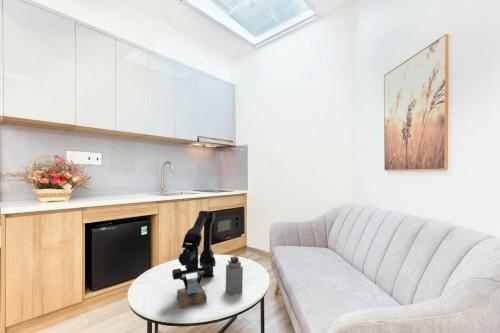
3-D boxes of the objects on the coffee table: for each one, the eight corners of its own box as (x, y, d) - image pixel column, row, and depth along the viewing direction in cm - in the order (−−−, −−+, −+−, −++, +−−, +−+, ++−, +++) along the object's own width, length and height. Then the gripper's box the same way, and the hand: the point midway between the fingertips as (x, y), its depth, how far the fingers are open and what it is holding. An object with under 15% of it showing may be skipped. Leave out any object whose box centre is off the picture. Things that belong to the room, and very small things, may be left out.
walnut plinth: (200, 290, 121) (200, 284, 121) (206, 302, 110) (206, 296, 110) (177, 295, 116) (177, 289, 116) (181, 308, 105) (181, 301, 105)
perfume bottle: (230, 296, 116) (231, 260, 116) (225, 290, 122) (226, 256, 122) (242, 293, 119) (242, 258, 120) (237, 287, 125) (237, 254, 126)
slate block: (195, 287, 116) (195, 277, 116) (197, 292, 112) (198, 281, 112) (185, 289, 114) (186, 279, 114) (187, 294, 109) (187, 283, 110)
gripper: (206, 249, 125) (206, 278, 124) (171, 254, 117) (170, 285, 116) (212, 256, 115) (211, 287, 114) (173, 262, 107) (173, 295, 106)
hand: (191, 288), depth 113 cm, fingers closed on slate block, 5 cm apart
